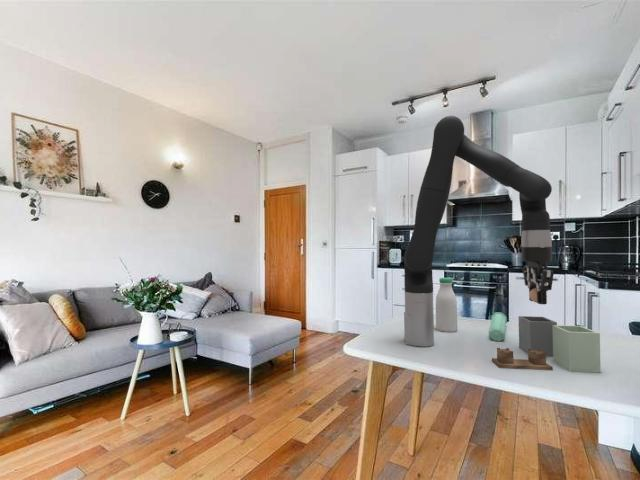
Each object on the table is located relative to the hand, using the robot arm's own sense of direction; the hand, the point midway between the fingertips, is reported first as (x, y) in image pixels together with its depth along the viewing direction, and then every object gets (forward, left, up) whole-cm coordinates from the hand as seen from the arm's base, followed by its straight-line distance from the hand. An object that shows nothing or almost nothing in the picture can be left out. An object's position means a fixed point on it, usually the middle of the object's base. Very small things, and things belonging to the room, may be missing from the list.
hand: (537, 302), depth 94 cm
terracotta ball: (0, 0, +2) cm, 2 cm away
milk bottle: (-20, +25, -16) cm, 36 cm away
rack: (-9, -10, -15) cm, 21 cm away
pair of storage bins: (+3, -3, -15) cm, 16 cm away
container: (-3, +23, -16) cm, 28 cm away
